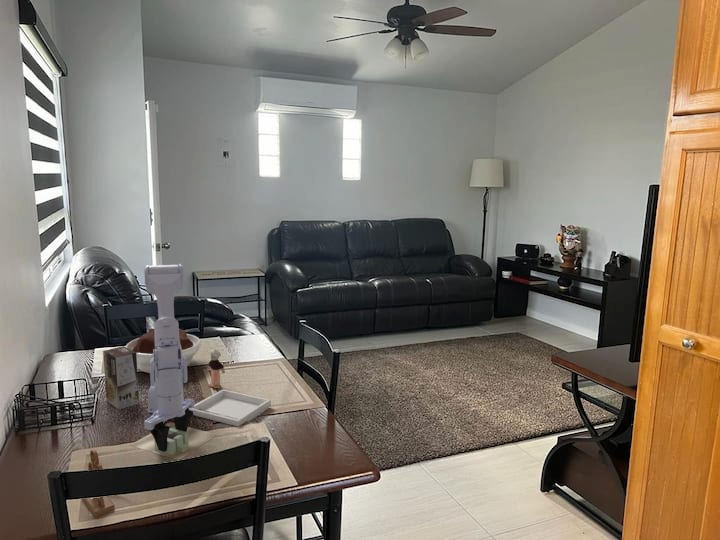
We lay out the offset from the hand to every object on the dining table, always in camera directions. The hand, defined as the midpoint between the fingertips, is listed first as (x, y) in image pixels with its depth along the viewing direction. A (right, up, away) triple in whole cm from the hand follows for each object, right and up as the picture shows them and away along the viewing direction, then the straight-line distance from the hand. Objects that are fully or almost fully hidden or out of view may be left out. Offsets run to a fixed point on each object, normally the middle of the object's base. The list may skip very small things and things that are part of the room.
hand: (171, 444), depth 130 cm
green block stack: (0, -1, 0) cm, 1 cm away
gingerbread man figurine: (-8, -5, -21) cm, 23 cm away
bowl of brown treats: (-23, +8, +56) cm, 61 cm away
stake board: (-1, -1, +4) cm, 4 cm away
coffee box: (-25, +3, +28) cm, 37 cm away
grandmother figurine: (0, +5, +40) cm, 41 cm away
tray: (+9, +2, +22) cm, 24 cm away
